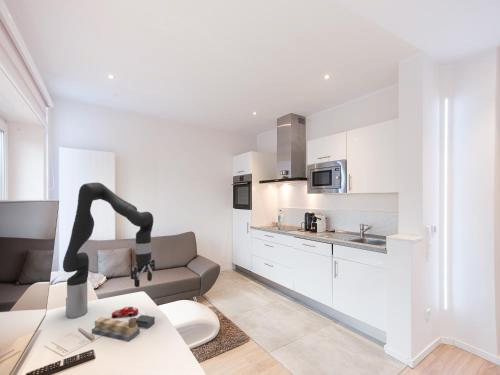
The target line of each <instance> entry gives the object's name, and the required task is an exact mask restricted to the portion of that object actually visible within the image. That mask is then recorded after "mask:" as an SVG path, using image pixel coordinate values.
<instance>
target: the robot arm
mask: <svg viewBox="0 0 500 375" xmlns="http://www.w3.org/2000/svg"><path fill="white" fill-rule="evenodd" d="M97 200H101V201H104V202H106V203H108V204H109V205H110V207H111V208H112V210H114V212H116V213H117V214H119V215H121V217H124V218H126V219H127V220H128V221H129V222H130V224H133V225H134V226H135V227H139V230H138V231H137V232H136V233H135V247H134V248H135V251H134V252H135V254H134V258H135V260H134V261H135V264H136V265H135V266H130V267H131V268H130V280H134V284H133V285H134V287H135V288H139V287H140V278H141V276H142V275H143V273H145V272H147V274H146V275H147V276H146V278H147V279H146V280H147V282H151V281H152V280H153V272H155V271H156V264H155V263H156V261H155V259H152V236H151V235H152V232H153V225H154V215H153V214H152V213H151V212H150V211H143V212H140V211H138V208H137V207H136V206H135V205H134V204H132V203H130V202H129V201H126V200H124V199H123V198H121V197H119V196H118V195H117V194H116V193H115V192H113V191H112V190H111V189H110V188H108V187H107V186H106V185H104V184H103V183H101V182H88V183H84V184H82V185H81V186H80V188H79V191H78V197H77V205H76V206H77V207H76V212H75V218H74V221H73V224H72V230H71V234H70V238H69V244H68V246H67V249H66V252H65V254H64V257H63V261H62V268H63V271H64V273H65V272H66V273H73V272H75V273H74V274H73V275H71V276H70V277H68V279H67V280H66V298H65V316H66V317H67V318H68V319H75V318H76V319H77V318H79V317H82V316H84V315H86V314H87V313H88V278H89V267H90V266H89V265H90V258H89V255H88V253H86V252H79V251H80V249H81V248H82V246H84V245H85V244H86V242H88V240H89V239H90V238H91V236H92V234H93V231H94V228H95V227H94V226H95V220H94V217H93V215H92V213H91V208H92V204H93V202H94V201H97Z"/></svg>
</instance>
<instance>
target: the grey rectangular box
mask: <svg viewBox="0 0 500 375" xmlns="http://www.w3.org/2000/svg"><path fill="white" fill-rule="evenodd" d="M135 318H136V324H137V328H140V329H141V328H142V329H147V330H148V329H149V328H151V327H152V326H154V325H155V322H156V321H155V318H156V317H155V316H151V315H145V314H141V315H140V316H137V317H135Z"/></svg>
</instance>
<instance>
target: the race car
mask: <svg viewBox="0 0 500 375" xmlns="http://www.w3.org/2000/svg"><path fill="white" fill-rule="evenodd" d="M138 313H139V309H138V307H134V306H126V307H123V308H121V309H116V310H114V311H113V312H111V318H113V319H119V318H128V317H129V318H133V317H134V316H137V315H138Z"/></svg>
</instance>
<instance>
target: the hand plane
mask: <svg viewBox="0 0 500 375" xmlns="http://www.w3.org/2000/svg"><path fill="white" fill-rule="evenodd" d="M136 318H137V317H129V319H128V321H123V320H119V319H114V318H113V319H111V318H107V317H99V318H98V319H95V320H94V327H93V328H91V334H94V335H97V336H102V337H106V338H111V339H115V340H119V341H123V342H130V341H131V340H133V339H134V338H135V337H136V336H138V335H139V334H141V328H140V327H137V324H136Z"/></svg>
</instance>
